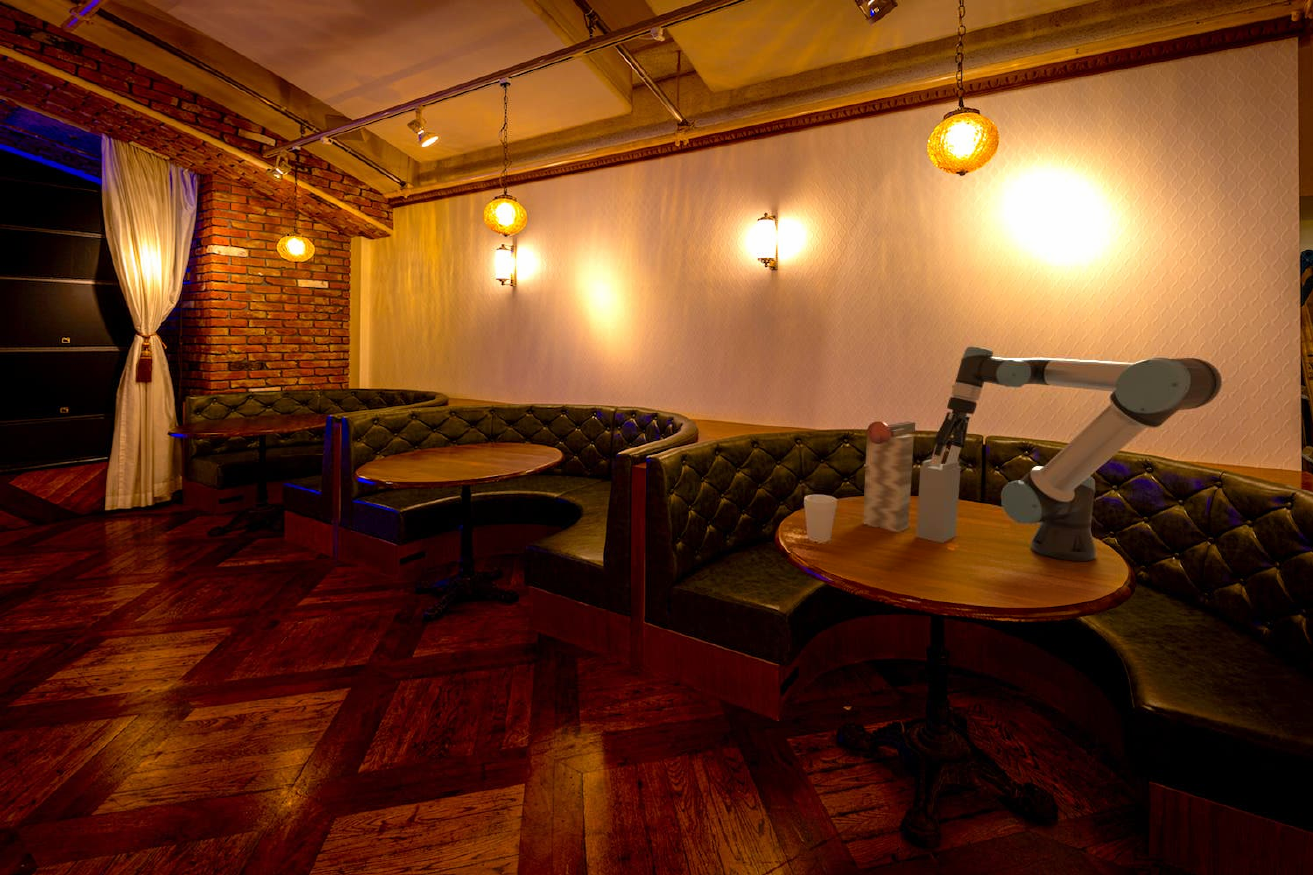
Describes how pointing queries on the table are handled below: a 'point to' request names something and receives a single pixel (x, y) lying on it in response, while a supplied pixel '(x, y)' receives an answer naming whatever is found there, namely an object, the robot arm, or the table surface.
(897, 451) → the beige patterned tall block
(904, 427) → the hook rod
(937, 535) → the tall grey block
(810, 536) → the foam cup
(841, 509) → the table surface
